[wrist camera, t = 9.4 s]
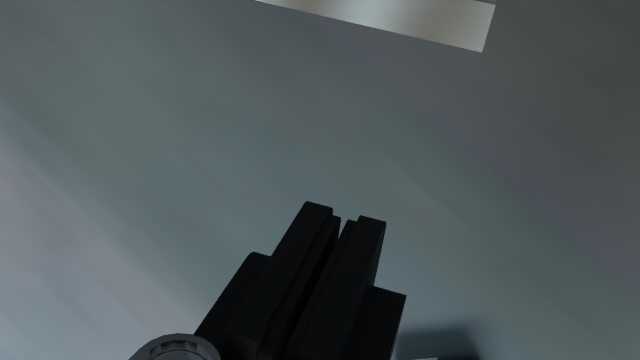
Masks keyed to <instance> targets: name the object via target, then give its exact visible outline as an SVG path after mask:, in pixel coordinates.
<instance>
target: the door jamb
mask: <svg viewBox="0 0 640 360" xmlns="http://www.w3.org/2000/svg"><path fill="white" fill-rule="evenodd" d="M257 1H261V2H265V3H270V4H274V5H278V6H283V7H287V8H291V9H296V10H300V11H304V12H309V13H313V14H317V15H322V16H326V17H330V18H335V19H339V20H343V21H348V22H352V23H356V24H361V25H365V26H369V27H374V28H378V29H382V30H387V31H391V32H395V33H400V34H404V35H408V36H412V37H417V38H421V39H425V40H430V41H434V42H438V43H443V44H447V45H451V46H456V47H460V48H464V49H469V50H473V51H477V52H482V50H483V47H484V43H485V40H486V36H487V33H488V29H489V26H490V23H491V19H492V16H493V12H494V9H495V5H496V1H497V0H257Z"/></svg>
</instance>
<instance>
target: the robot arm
mask: <svg viewBox="0 0 640 360" xmlns="http://www.w3.org/2000/svg"><path fill="white" fill-rule="evenodd" d="M340 223H341V218H340V217H338V216H334V215H333V208H331V207H328V206H324V205H320V204H316V203H312V202H309V201H306V202H305V203H304V205H303V206H302V208H301V210H300V211H299V213H298V214H297V216H296V217H295V219H294V221H293V222H292V224H291V225H290V227H289V228H288V230H287V232H286V233H285V235H284V236H283V238H282V240H281V241H280V243H279V244H278V246H277V247H276V249H275V251H274V252H273V254H272V255H271V256H267V255H264V254H260V253H257V252H252V253H250V254H249V255H248V256H247V258H246V259H245V261H244V262H243V263H242V265H241V266H240V268H239V269H238V271H237V272H236V274H235V275H234V276H233V278H232V279H231V281H230V282H229V284H228V285H227V287H226V288H225V289H224V291H223V292H222V294H221V295H220V297H219V298H218V300H217V301H216V303H215V304H214V305H213V307H212V308H211V310H210V311H209V313H208V314H207V316H206V317H205V318H204V320H203V321H202V323H201V324H200V326H199V327H198V329H197V330H196V331H195V333H194V334H193V335H192V334H180V333H176V334H169V335H163V336H161V337H158V338H156V339H153V340H151V341H149V342H148V343H147V344H145V345H144V346H143V347H141V348H140V349H139V350H138V351H137V352H136V353H135V354H134V355H133V356H132V357H131V358H130V359H129V360H390V359H391V356H392V352H393V348H394V344H395V340H396V336H397V332H398V328H399V324H400V320H401V316H402V312H403V308H404V304H405V300H406V296H407V295H403V294H400V293H396V292H393V291H389V290H386V289H382V288H379V287H375V286H374V282H375V277H376V272H377V268H378V263H379V258H380V253H381V249H382V244H383V239H384V234H385V229H386V222H384V221H381V220H377V219H373V218H369V217H365V216H362V215H360V216H359V218H358V220H357V221H353V220H349V219H348V220H347V222H346V224H345V226H344V228H343V230H342V232H341V235H340V237H339V239H338V236H339V229H340Z"/></svg>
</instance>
